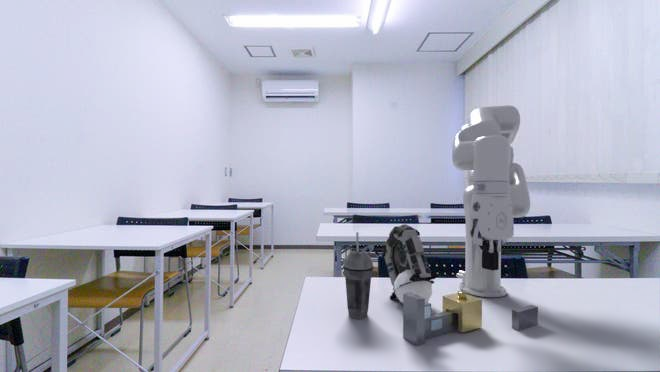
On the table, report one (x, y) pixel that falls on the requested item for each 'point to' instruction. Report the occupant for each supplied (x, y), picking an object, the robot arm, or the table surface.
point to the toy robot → (407, 263)
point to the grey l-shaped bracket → (425, 320)
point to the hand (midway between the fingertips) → (490, 269)
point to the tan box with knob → (464, 310)
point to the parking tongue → (524, 317)
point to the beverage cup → (358, 282)
